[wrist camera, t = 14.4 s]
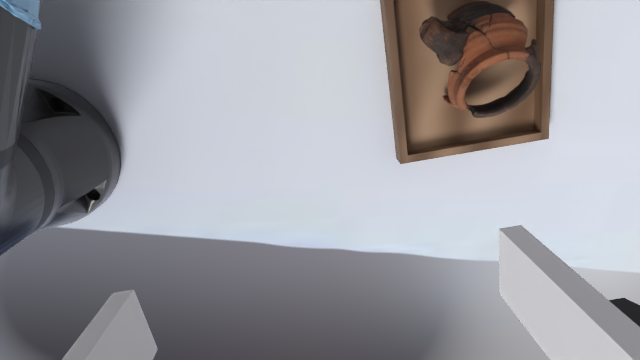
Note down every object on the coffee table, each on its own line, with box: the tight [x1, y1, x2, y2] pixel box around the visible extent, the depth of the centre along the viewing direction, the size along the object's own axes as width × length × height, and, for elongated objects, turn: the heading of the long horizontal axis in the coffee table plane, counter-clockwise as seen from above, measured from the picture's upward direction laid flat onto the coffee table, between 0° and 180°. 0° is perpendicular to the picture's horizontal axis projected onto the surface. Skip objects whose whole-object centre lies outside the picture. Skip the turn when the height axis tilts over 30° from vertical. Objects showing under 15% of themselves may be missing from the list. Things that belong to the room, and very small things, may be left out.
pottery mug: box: [419, 1, 541, 118], centre depth 36 cm, size 12×10×8 cm
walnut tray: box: [380, 0, 554, 164], centre depth 38 cm, size 16×17×2 cm
